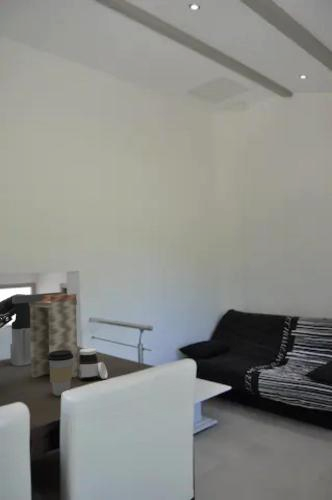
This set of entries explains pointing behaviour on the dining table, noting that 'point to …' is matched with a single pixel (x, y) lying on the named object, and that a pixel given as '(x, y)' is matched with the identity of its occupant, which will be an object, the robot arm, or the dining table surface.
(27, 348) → the robot arm
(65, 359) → the coffee cup
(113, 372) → the dining table surface
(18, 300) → the bar
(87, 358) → the spread jar
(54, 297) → the wooden open box
